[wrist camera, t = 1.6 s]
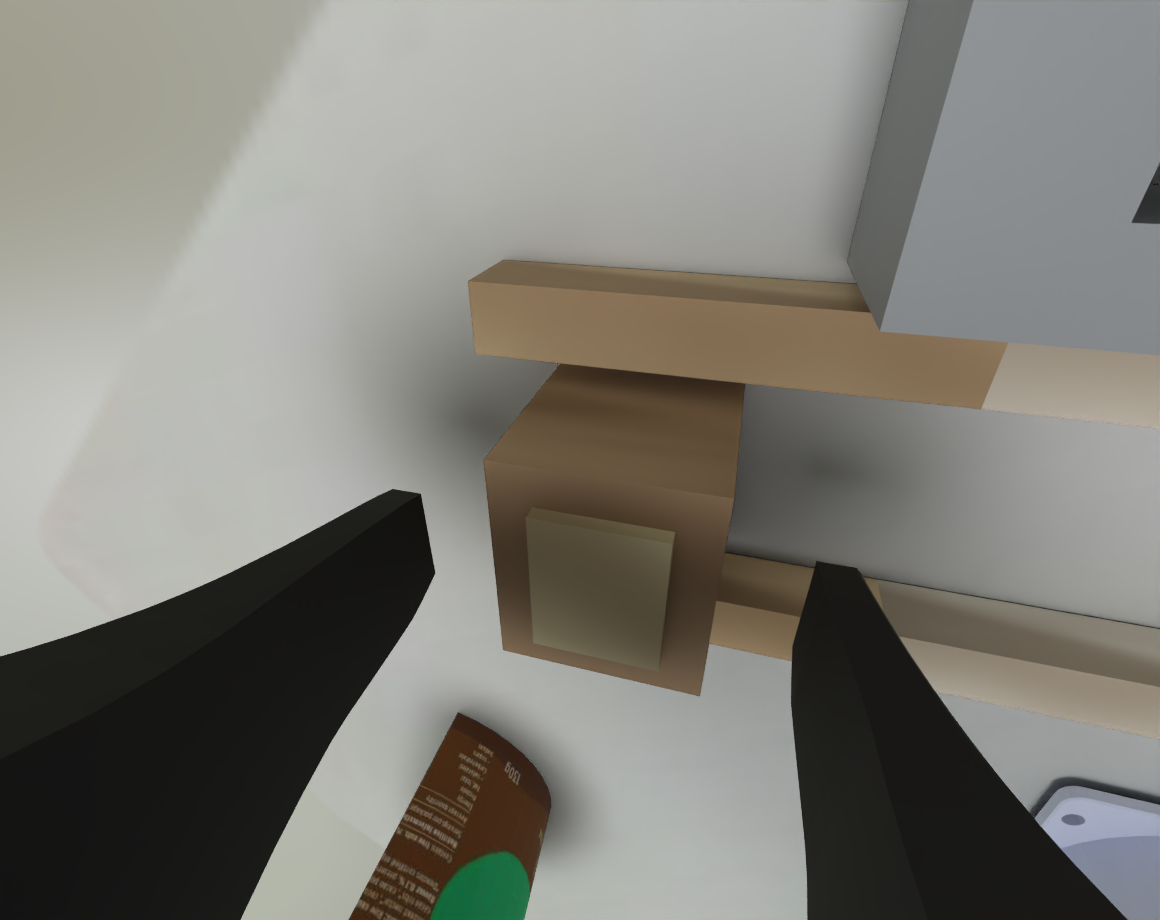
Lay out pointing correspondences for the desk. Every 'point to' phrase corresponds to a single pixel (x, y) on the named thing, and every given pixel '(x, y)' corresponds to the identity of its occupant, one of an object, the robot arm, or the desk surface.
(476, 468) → the desk surface
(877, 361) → the channel
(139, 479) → the desk surface
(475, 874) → the food container
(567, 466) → the block
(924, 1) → the grey housing block
